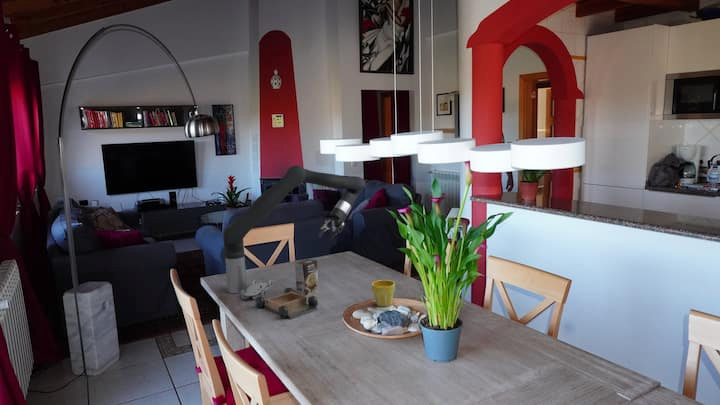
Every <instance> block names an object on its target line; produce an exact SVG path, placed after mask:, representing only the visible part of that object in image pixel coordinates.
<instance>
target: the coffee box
mask: <svg viewBox="0 0 720 405" xmlns="http://www.w3.org/2000/svg"><path fill="white" fill-rule="evenodd" d="M294 268H295V287H296V288H295V289H296V290H295V291H296V292H295V293H297V294H300V295H302V296H305V297H306V298H307V299H308V298H309V297H311V296H315V295H316V294H318V293H319V277H318V276H319V275H318V260H316V259H310V258H307V259H303V260H301V261H298V262H294Z"/></svg>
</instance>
